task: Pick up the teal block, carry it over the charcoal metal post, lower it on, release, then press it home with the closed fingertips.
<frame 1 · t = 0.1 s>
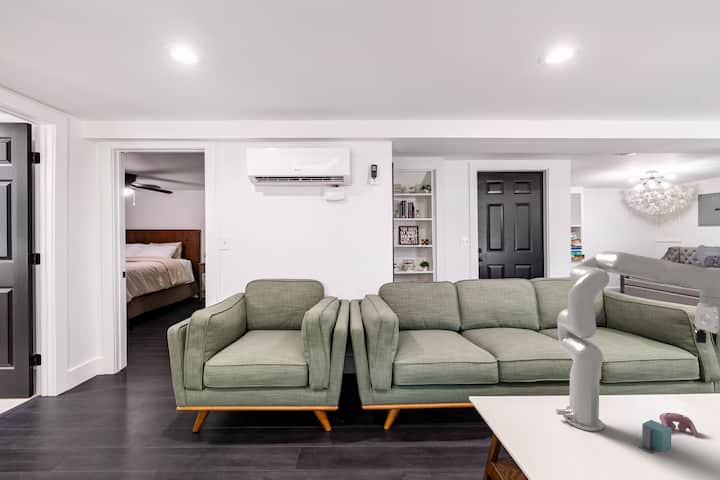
hand: (712, 346, 126), 31 cm above the table, fingers open, 9 cm apart
video game controller: (677, 431, 126), on the table
post: (647, 449, 115), on the table
teal block: (656, 444, 117), on the table
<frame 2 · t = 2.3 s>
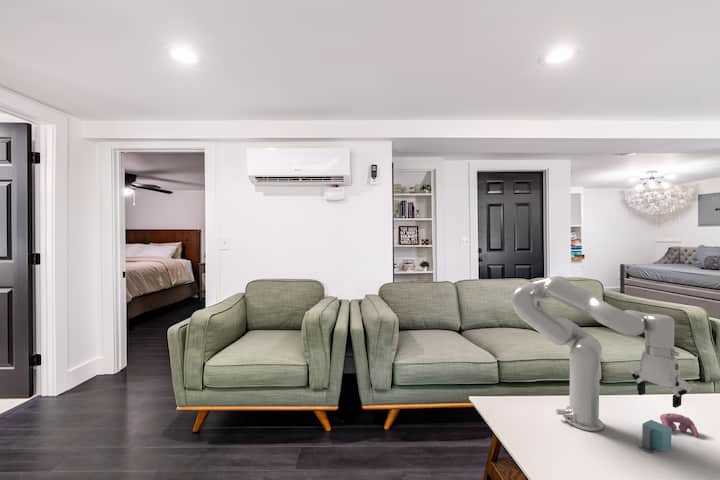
hand: (658, 400, 117), 16 cm above the table, fingers open, 9 cm apart
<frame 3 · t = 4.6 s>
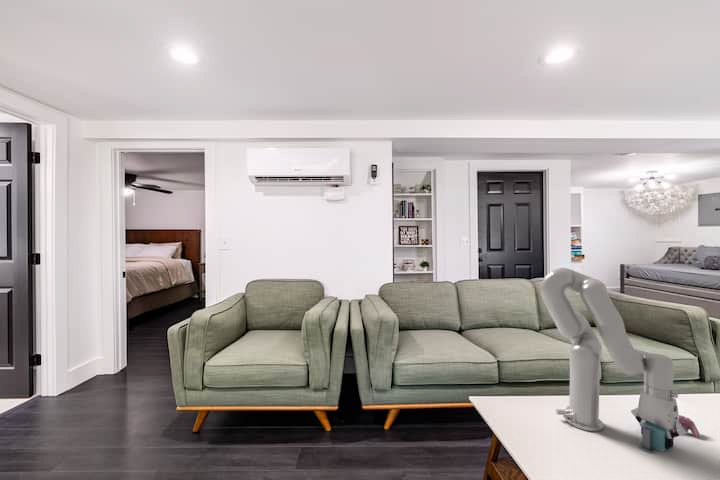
hand: (656, 442, 117), 1 cm above the table, fingers closed on teal block, 5 cm apart
teal block: (656, 444, 117), on the table, touching gripper
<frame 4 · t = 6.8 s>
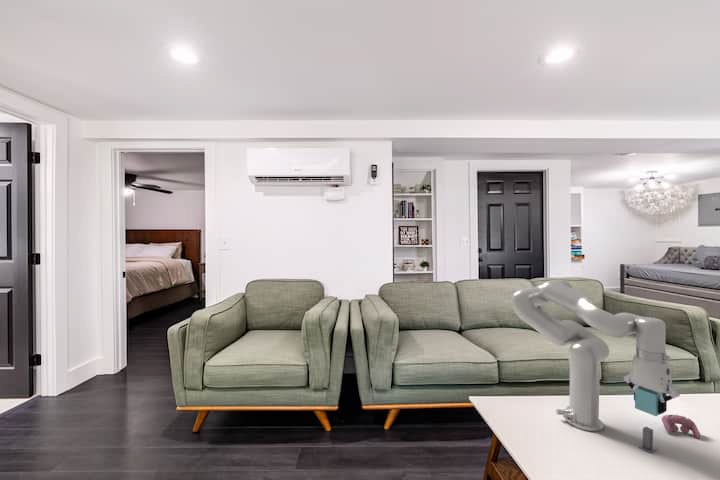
hand: (649, 407, 114), 14 cm above the table, fingers closed on teal block, 5 cm apart
teal block: (649, 410, 114), point 13 cm above the table, touching gripper
when the fingers open (3 cm above the table, at t = 9.3 s): teal block stays where it is, resting on post.
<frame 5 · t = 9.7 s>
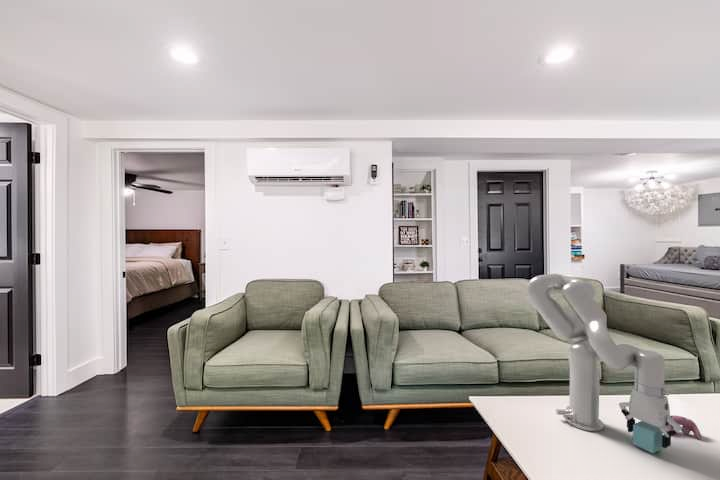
hand: (647, 438, 115), 4 cm above the table, fingers open, 9 cm apart
teal block: (647, 446, 115), point 1 cm above the table, touching post
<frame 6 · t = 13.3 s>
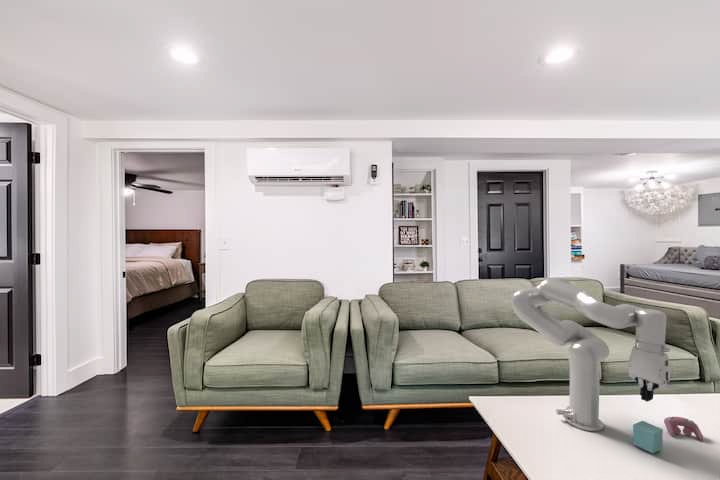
hand: (646, 399, 115), 17 cm above the table, fingers closed
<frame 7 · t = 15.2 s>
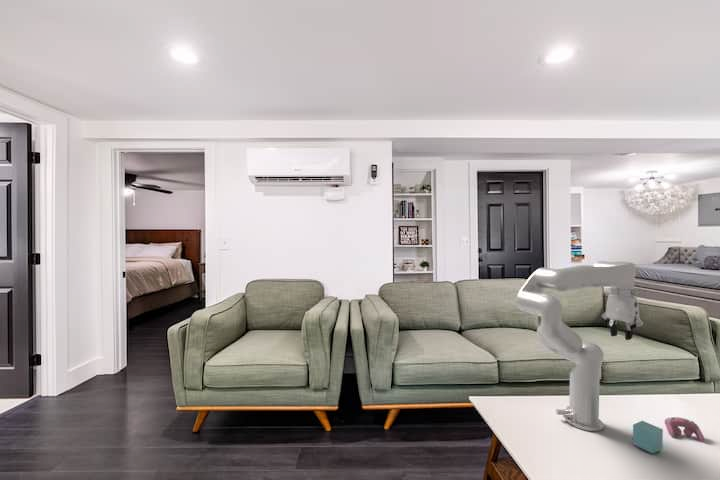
hand: (621, 337, 136), 31 cm above the table, fingers open, 4 cm apart
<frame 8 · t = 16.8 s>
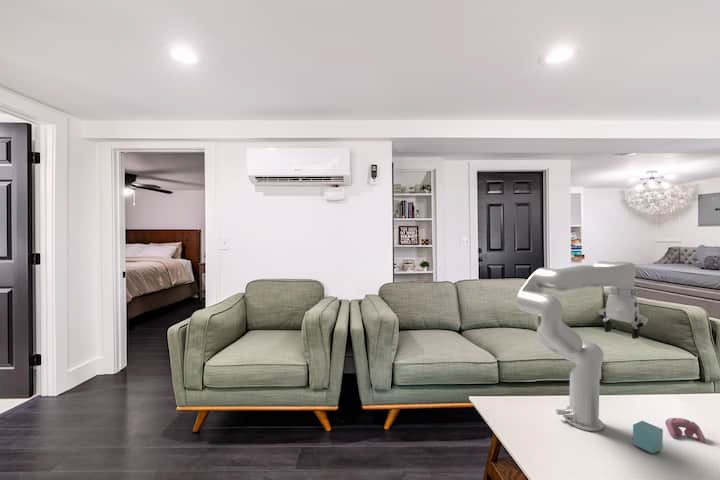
hand: (621, 334, 136), 32 cm above the table, fingers open, 9 cm apart
at the end: teal block 0.1 cm from the post (horizontally); teal block point 1.0 cm above the table; the gripper is holding nothing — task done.
